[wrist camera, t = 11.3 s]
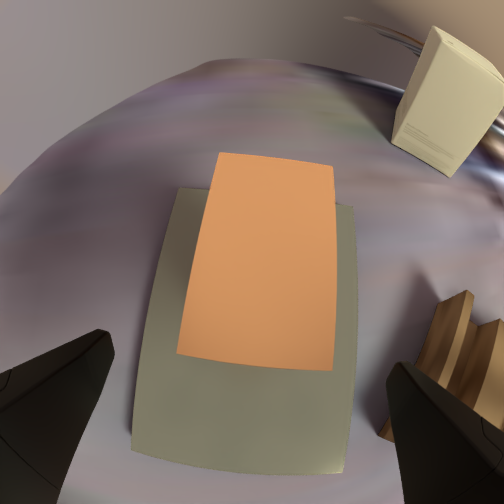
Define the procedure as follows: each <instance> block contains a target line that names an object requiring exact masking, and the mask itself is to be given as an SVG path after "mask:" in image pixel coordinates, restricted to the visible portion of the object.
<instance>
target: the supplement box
mask: <svg viewBox="0 0 504 504" xmlns="http://www.w3.org/2000/svg"><path fill="white" fill-rule="evenodd" d="M503 106H504V78H503V77H502V76H501V74H500V73H499V72H498V71H497V69H496V68H495V67H494V66H493V65H492V63H490V62H489V61H488V60H487V59H486V58H484V57H483V56H481V55H480V54H479V53H477V52H476V51H474V50H472V49H471V48H470V47H468V46H467V45H465V44H464V43H462V42H461V41H459V40H457V39H456V38H454V37H453V36H451V35H449V34H448V33H446V32H444V31H443V30H441V29H439V28H437V27H435V26H432V28H431V30H430V32H429V35H428V38H427V40H426V43H425V45H424V48H423V50H422V53H421V55H420V58H419V60H418V63H417V65H416V67H415V70H414V72H413V74H412V77H411V79H410V81H409V84H408V86H407V88H406V90H405V93H404V95H403V97H402V99H401V101H400V103H399V106H398V108H397V110H396V115H395V121H394V128H393V134H392V140H391V143H392V144H394V145H396V146H398V147H400V148H401V149H403V150H405V151H407V152H409V153H410V154H412V155H414V156H416V157H417V158H419V159H421V160H422V161H424V162H426V163H427V164H429V165H431V166H432V167H434V168H435V169H437V170H439V171H440V172H442V173H443V174H445V175H446V176H448V177H449V178H450V177H451V176H452V175H453V174H454V173H455V171H456V170H457V169H458V168H459V166H460V165H461V164H462V163H463V161H464V160H465V159H466V158H467V156H468V155H469V154H470V152H471V151H472V150H473V149H474V147H475V146H476V145H477V143H478V142H479V141H480V139H481V138H482V137H483V135H484V134H485V132H486V131H487V130H488V128H489V127H490V125H491V124H492V123H493V121H494V120H495V118H496V117H497V115H498V114H499V112H500V111H501V109H502V108H503Z"/></svg>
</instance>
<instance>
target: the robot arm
mask: <svg viewBox="0 0 504 504" xmlns="http://www.w3.org/2000/svg"><path fill="white" fill-rule="evenodd" d="M114 355H115V351H114V347H113V343H112V339H111V335H110V333H109V332H108V331H105V330H101V329H96V330H94V331H92V332H90V333H87V334H85V335H83V336H81V337H79V338H77V339H74V340H72V341H70V342H68V343H66V344H64V345H61V346H59V347H57V348H55V349H53V350H51V351H48V352H46V353H44V354H42V355H40V356H38V357H35V358H33V359H31V360H29V361H27V362H25V363H22V364H20V365H18V366H16V367H14V368H12V369H9V370H7V371H5V372H3V373H0V504H56V503H57V500H58V497H59V494H60V490H61V488H62V485H63V482H64V480H65V477H66V474H67V472H68V469H69V466H70V464H71V461H72V459H73V456H74V454H75V451H76V449H77V447H78V444H79V442H80V439H81V437H82V435H83V433H84V430H85V428H86V426H87V423H88V421H89V419H90V417H91V415H92V412H93V410H94V408H95V406H96V404H97V402H98V400H99V397H100V395H101V392H102V390H103V387H104V384H105V381H106V378H107V376H108V373H109V370H110V367H111V365H112V362H113V359H114ZM386 391H387V398H388V405H389V414H390V422H391V427H392V432H393V437H394V442H395V447H396V452H397V457H398V463H399V469H400V475H401V481H402V488H403V495H404V503H405V504H504V432H503V431H502V430H500V429H498V428H497V427H496V426H494V425H493V424H491V423H490V422H489V421H487V420H486V419H485V418H483V417H482V416H481V417H480V415H479V414H478V413H477V412H475V411H474V410H473V409H471V408H470V407H469V406H467V405H466V404H465V403H463V402H462V401H461V400H459V399H458V398H457V397H455V396H454V395H453V394H451V393H450V392H449V391H447V390H446V389H445V388H443V387H442V386H441V385H439V384H438V383H437V382H435V381H434V380H433V379H431V378H430V377H429V376H427V375H426V374H425V373H423V372H422V371H421V370H419V369H418V368H417V367H415V366H414V365H413V364H411V363H410V362H408V361H399V362H397V363H396V364H395V365H394V367H393V369H392V371H391V373H390V374H389V376H388V378H387V381H386Z"/></svg>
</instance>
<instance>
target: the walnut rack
mask: <svg viewBox="0 0 504 504" xmlns="http://www.w3.org/2000/svg"><path fill="white" fill-rule="evenodd" d="M473 301H474V295H473V294H472V293H471V292H469V291H468V290H465V291H463V292H461V293H459V294H457V295H455V296H453V297H451V298H449V299H447V300H445V301H442V302H440V303H438V305H437V308H436V311H435V314H434V317H433V320H432V323H431V326H430V329H429V332H428V334H427V337H426V340H425V342H424V345H423V347H422V350H421V352H420V355H419V357H418V359H417V362H416V364H415V367H417V368H418V369H419V370H421V371H422V372H423V373H425V374H426V375H427V376H429V377H430V378H431V379H433V380H434V381H435V382H437V383H438V384H439V385H441V386H442V387H443V388H445V389H446V390H447V391H449V392H450V393H451V394H453V395H454V396H455V397H457V398H458V399H459V400H461V401H462V402H463V403H465V404H466V405H467V406H469V407H470V408H471V409H473V410H474V411H475V412H477V413H478V414H479V415H480V417H481V416H482V417H483V418H485V419H486V420H487V421H489V422H490V423H491V424H493V425H494V426H496V427H497V428H498V429H500V430H502V431H503V428H504V322H503V321H502V320H501V319H497V320H495V321H492V322H489V323H486V324H483V325H480V326H477V325H475V324H474V323H473V322H472V321H470V320H469V318H470V314H471V310H472V305H473ZM378 436H379V437H381V438H384V439H386V440H388V441H391V442H393V443H395V442H394V437H393V432H392V427H391V422H390V416H389V418H388V420H387V421H386V423H385V425H384V426H383V428H382V430H381V431H380V433H379V434H378Z"/></svg>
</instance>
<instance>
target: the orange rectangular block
mask: <svg viewBox="0 0 504 504" xmlns="http://www.w3.org/2000/svg"><path fill="white" fill-rule="evenodd" d="M336 299H337V234H336V208H335V190H334V176H333V166H328V165H322V164H316V163H309V162H303V161H296V160H289V159H281V158H273V157H264V156H255V155H244V154H233V153H219V156H218V160H217V164H216V167H215V171H214V175H213V179H212V183H211V187H210V191H209V195H208V199H207V203H206V207H205V211H204V215H203V219H202V224H201V228H200V232H199V237H198V241H197V246H196V250H195V255H194V260H193V264H192V269H191V274H190V279H189V284H188V289H187V295H186V300H185V305H184V311H183V316H182V322H181V328H180V334H179V340H178V346H177V352H176V354H181V355H186V356H191V357H196V358H201V359H207V360H213V361H219V362H225V363H232V364H240V365H248V366H257V367H267V368H279V369H294V370H317V371H332V369H333V357H334V343H335V325H336Z"/></svg>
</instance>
